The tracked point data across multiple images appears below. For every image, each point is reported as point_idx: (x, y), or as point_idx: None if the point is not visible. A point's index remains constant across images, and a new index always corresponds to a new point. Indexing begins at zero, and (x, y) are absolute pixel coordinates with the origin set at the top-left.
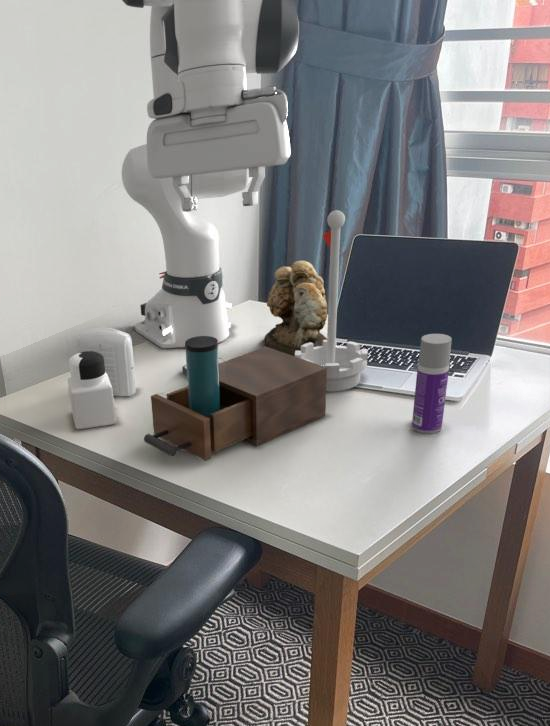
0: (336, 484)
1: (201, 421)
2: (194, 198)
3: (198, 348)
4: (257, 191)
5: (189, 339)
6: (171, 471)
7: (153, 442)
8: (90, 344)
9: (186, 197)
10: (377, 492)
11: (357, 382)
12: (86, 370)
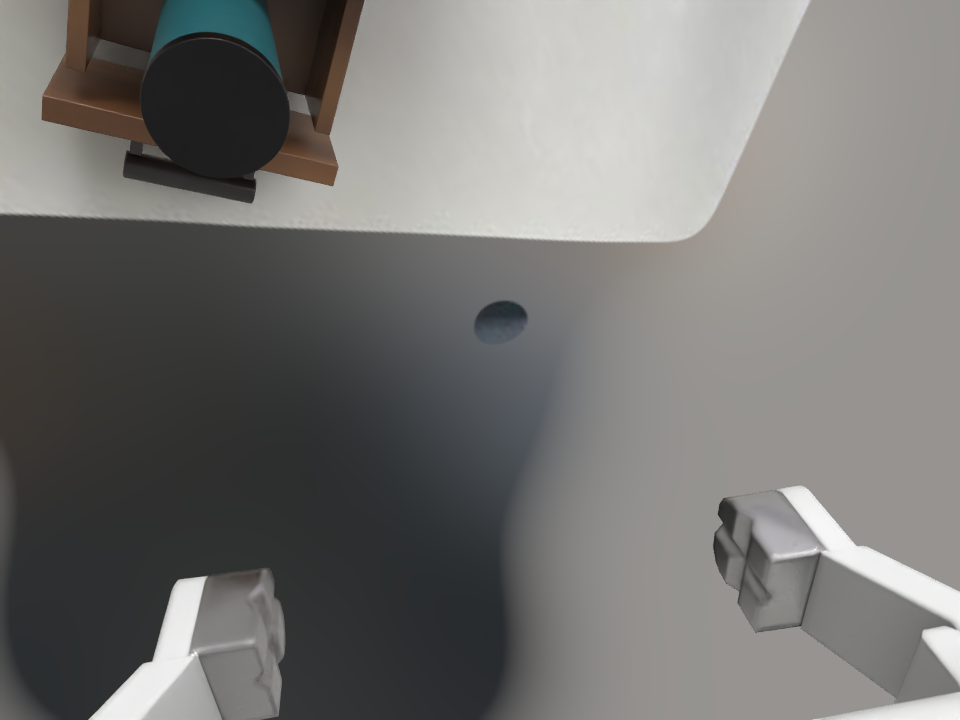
0: (625, 54)
1: (323, 183)
2: (264, 659)
3: (254, 170)
4: (852, 545)
5: (150, 113)
6: (259, 192)
7: (173, 187)
8: None
9: (221, 715)
10: (710, 43)
11: None
12: None
